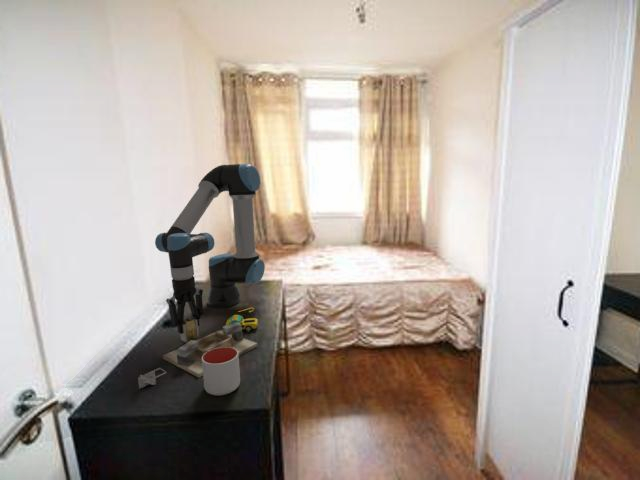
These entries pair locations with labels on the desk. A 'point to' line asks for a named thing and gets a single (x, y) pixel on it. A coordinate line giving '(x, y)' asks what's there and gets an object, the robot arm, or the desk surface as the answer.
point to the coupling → (190, 328)
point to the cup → (221, 370)
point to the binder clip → (148, 378)
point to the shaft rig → (209, 348)
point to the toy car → (244, 322)
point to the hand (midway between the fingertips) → (190, 337)
